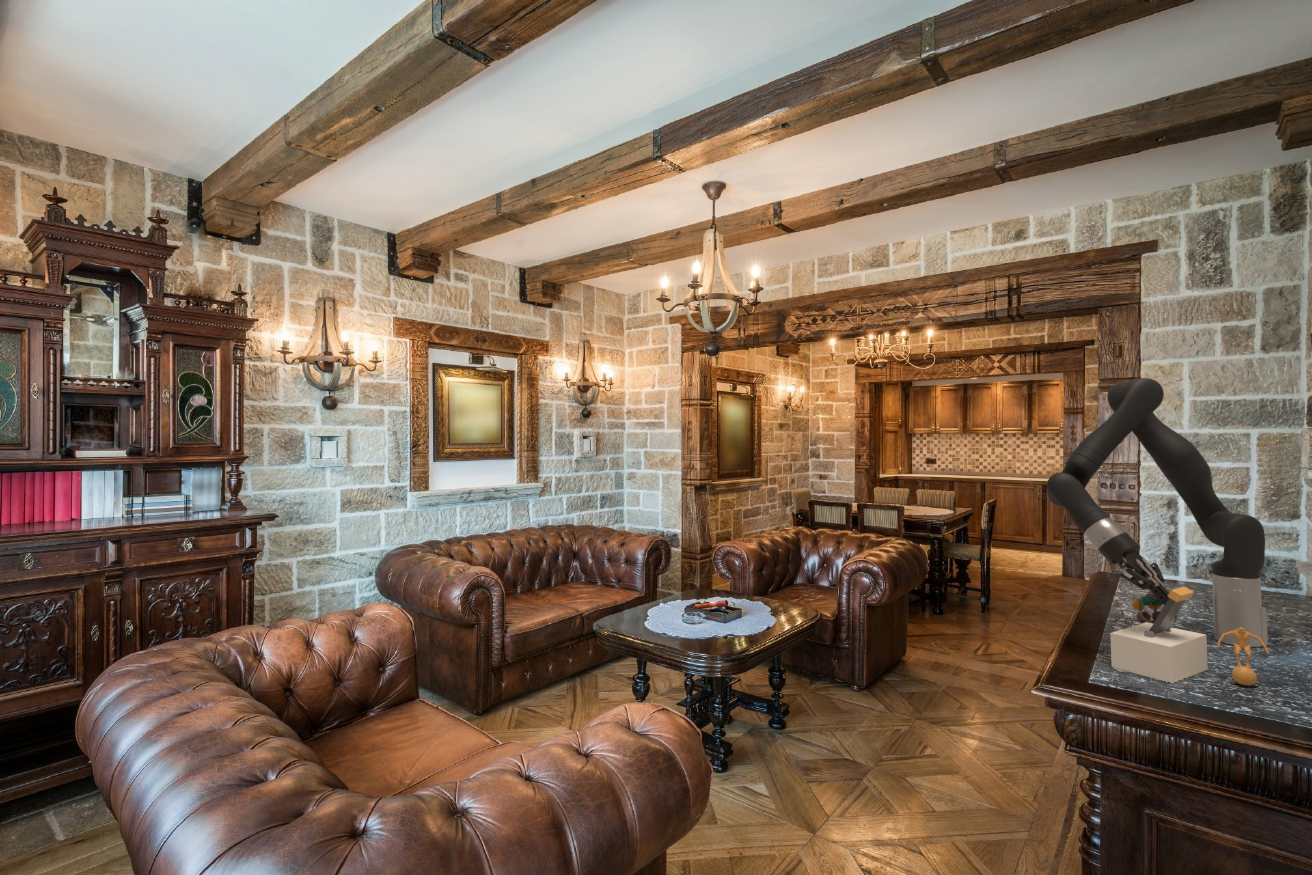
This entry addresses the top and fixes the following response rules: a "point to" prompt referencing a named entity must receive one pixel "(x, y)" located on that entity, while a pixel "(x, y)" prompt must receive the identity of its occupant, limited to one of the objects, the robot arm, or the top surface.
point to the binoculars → (1148, 601)
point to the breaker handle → (1171, 609)
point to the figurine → (1245, 673)
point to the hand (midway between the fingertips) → (1170, 602)
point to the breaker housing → (1159, 652)
